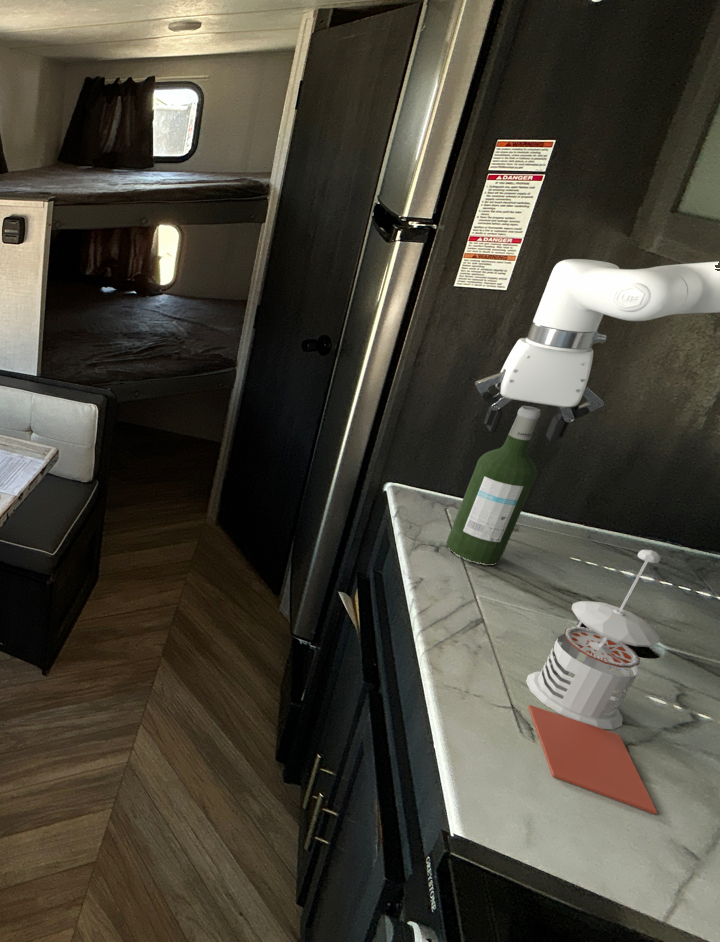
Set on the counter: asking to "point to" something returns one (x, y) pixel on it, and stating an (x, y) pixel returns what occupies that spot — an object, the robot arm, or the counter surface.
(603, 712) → the french press
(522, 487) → the wine bottle
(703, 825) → the counter surface
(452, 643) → the counter surface
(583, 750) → the napkin
